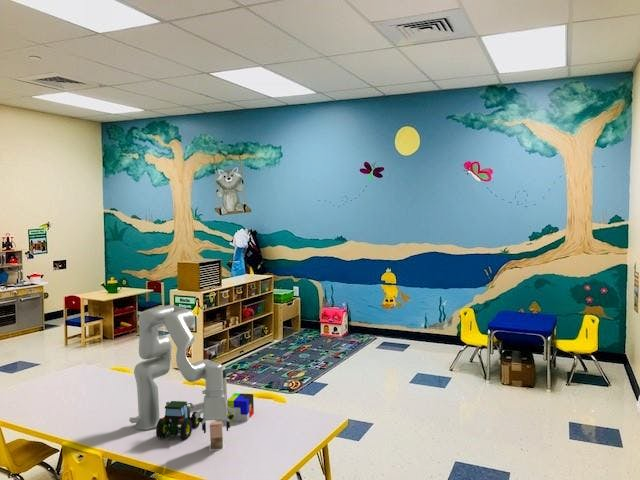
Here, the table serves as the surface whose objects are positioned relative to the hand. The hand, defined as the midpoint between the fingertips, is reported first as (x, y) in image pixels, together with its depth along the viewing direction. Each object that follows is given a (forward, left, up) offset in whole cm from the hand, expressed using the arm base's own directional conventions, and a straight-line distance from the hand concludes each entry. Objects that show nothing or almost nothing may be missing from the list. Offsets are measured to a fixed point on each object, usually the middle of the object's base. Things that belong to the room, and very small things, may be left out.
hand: (216, 430), depth 228 cm
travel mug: (0, +56, -8) cm, 57 cm away
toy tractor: (-18, +19, -8) cm, 27 cm away
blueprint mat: (-1, 0, -8) cm, 8 cm away
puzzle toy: (+11, +32, -8) cm, 35 cm away
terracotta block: (0, 0, -2) cm, 2 cm away
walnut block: (0, 0, -7) cm, 7 cm away
